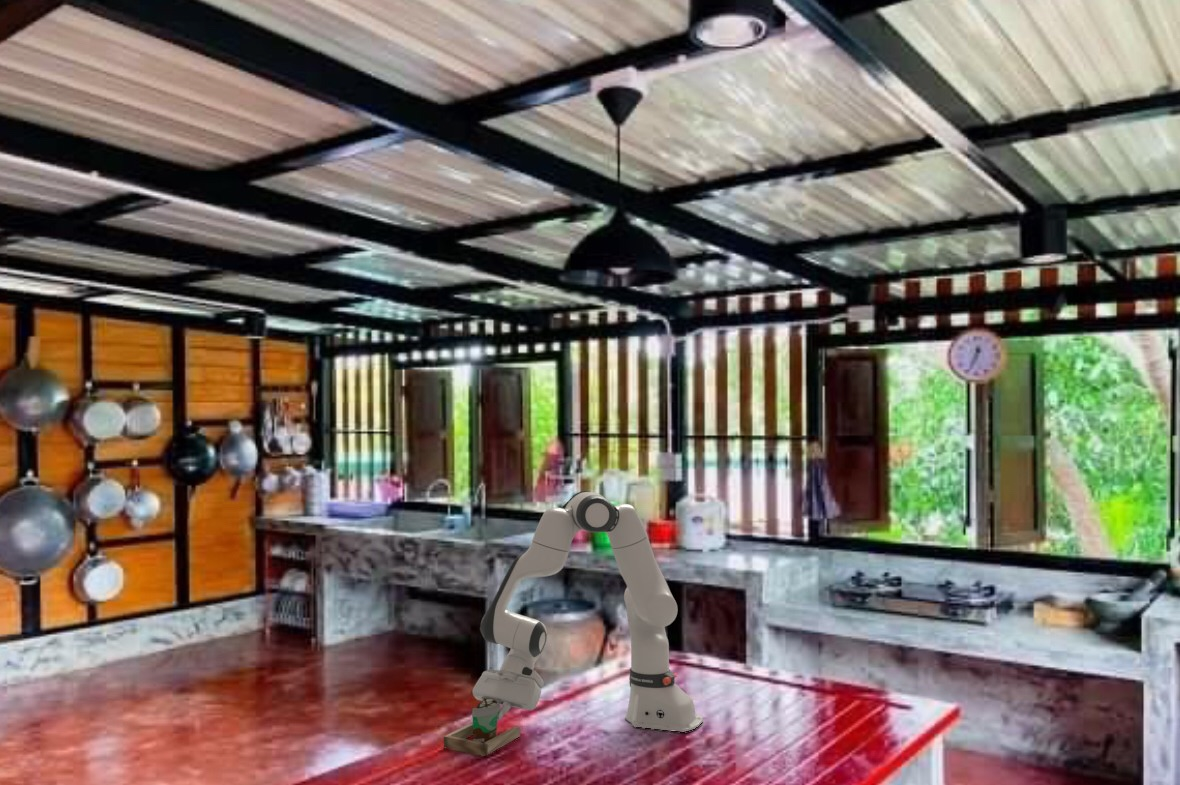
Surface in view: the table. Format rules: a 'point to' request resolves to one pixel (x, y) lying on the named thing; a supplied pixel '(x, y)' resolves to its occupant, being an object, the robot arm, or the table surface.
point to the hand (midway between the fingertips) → (494, 717)
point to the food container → (485, 719)
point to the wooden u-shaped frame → (462, 744)
